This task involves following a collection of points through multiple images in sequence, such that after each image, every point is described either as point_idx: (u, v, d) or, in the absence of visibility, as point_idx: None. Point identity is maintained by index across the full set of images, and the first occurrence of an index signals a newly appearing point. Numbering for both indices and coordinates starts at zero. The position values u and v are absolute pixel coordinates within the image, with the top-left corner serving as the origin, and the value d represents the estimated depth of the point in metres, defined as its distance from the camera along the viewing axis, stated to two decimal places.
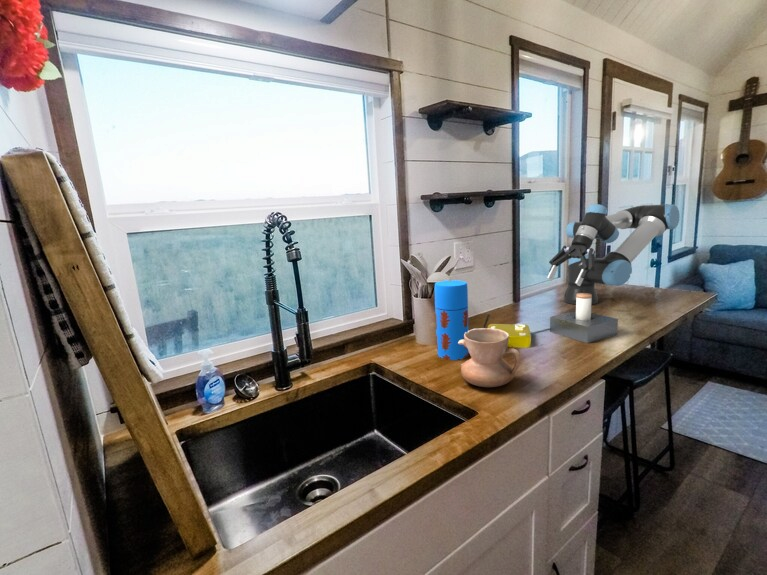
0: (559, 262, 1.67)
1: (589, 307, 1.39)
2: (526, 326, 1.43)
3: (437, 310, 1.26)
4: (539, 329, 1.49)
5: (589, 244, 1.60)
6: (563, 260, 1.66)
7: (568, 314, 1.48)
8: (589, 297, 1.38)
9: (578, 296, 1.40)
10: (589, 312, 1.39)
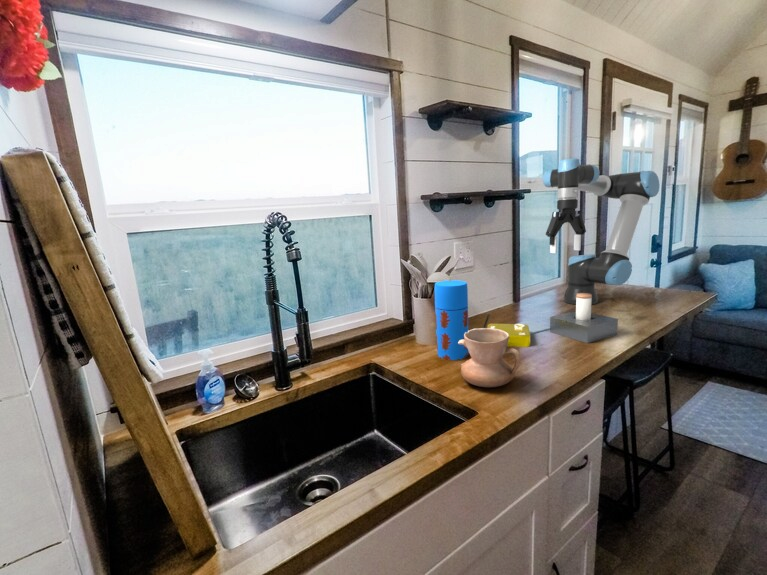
0: None
1: (589, 307, 1.39)
2: (525, 326, 1.43)
3: (437, 310, 1.26)
4: (539, 329, 1.49)
5: None
6: None
7: (568, 314, 1.48)
8: (589, 297, 1.38)
9: (578, 296, 1.40)
10: (589, 312, 1.39)
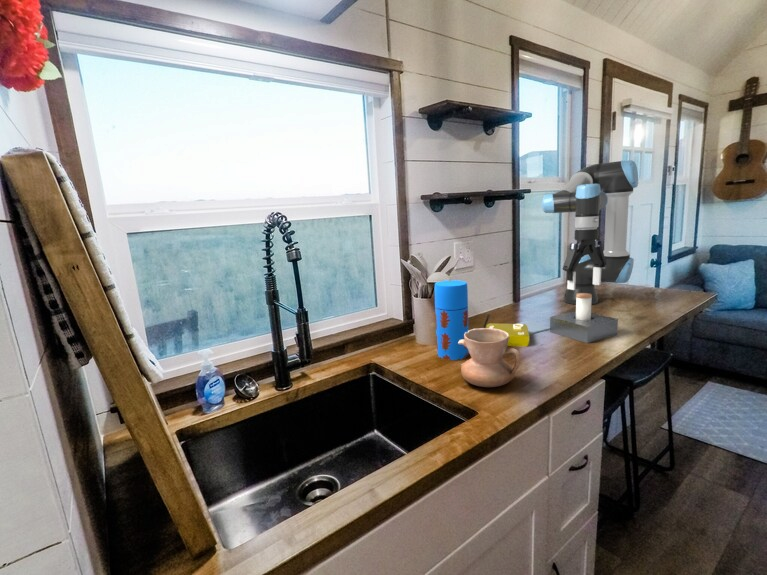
0: None
1: (589, 307, 1.39)
2: (524, 325, 1.44)
3: (437, 310, 1.26)
4: (539, 329, 1.49)
5: None
6: None
7: (568, 314, 1.48)
8: (589, 297, 1.38)
9: (578, 296, 1.40)
10: (589, 312, 1.39)
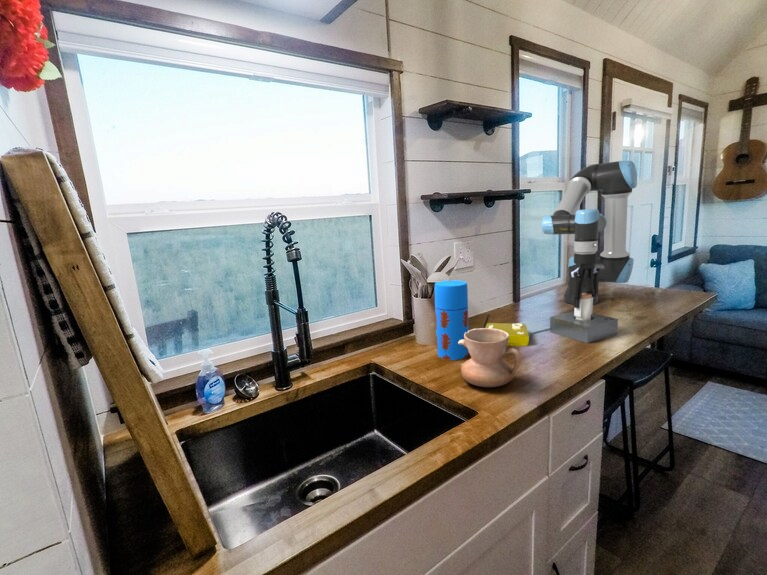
0: None
1: (589, 307, 1.39)
2: (523, 325, 1.45)
3: (437, 310, 1.26)
4: (539, 329, 1.49)
5: None
6: None
7: (568, 314, 1.48)
8: (589, 297, 1.38)
9: None
10: (589, 312, 1.39)
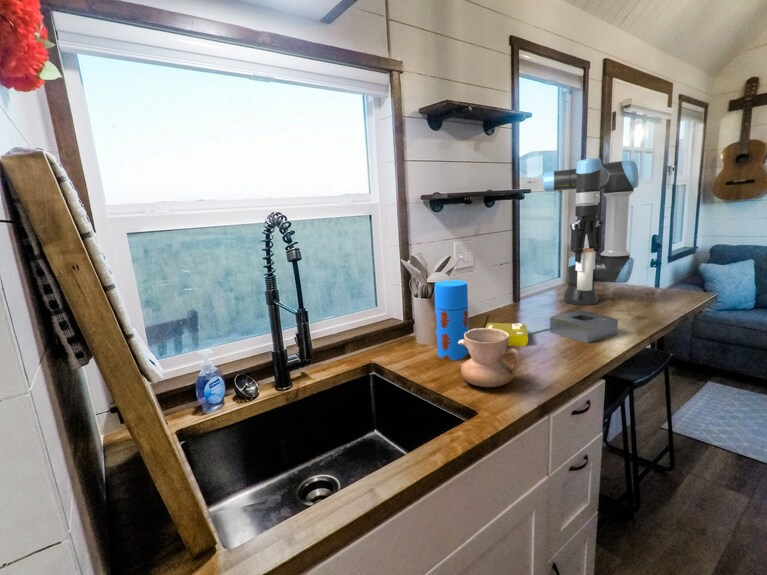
0: None
1: (591, 261, 1.36)
2: (523, 325, 1.44)
3: (437, 310, 1.26)
4: (539, 329, 1.49)
5: None
6: None
7: (568, 314, 1.48)
8: (591, 251, 1.35)
9: None
10: (591, 266, 1.36)
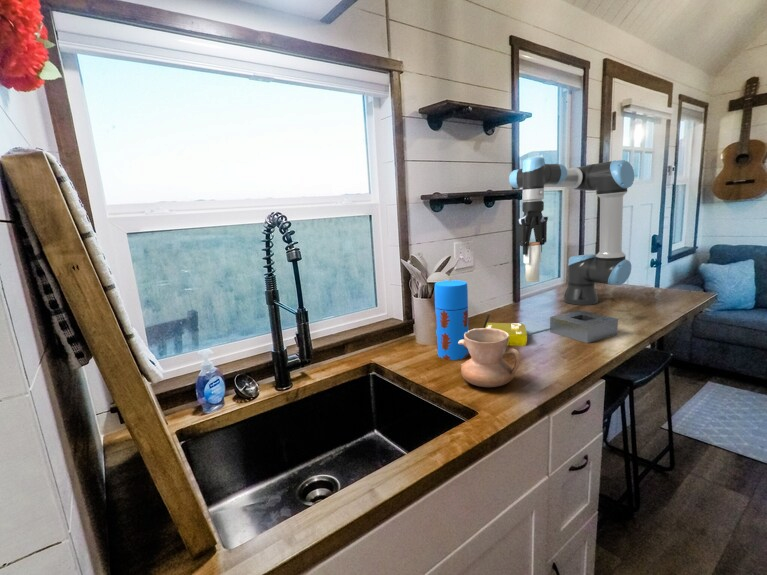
0: None
1: (537, 254, 1.44)
2: (522, 325, 1.45)
3: (437, 310, 1.26)
4: (539, 329, 1.49)
5: None
6: None
7: (568, 314, 1.48)
8: (537, 244, 1.43)
9: None
10: (537, 259, 1.45)
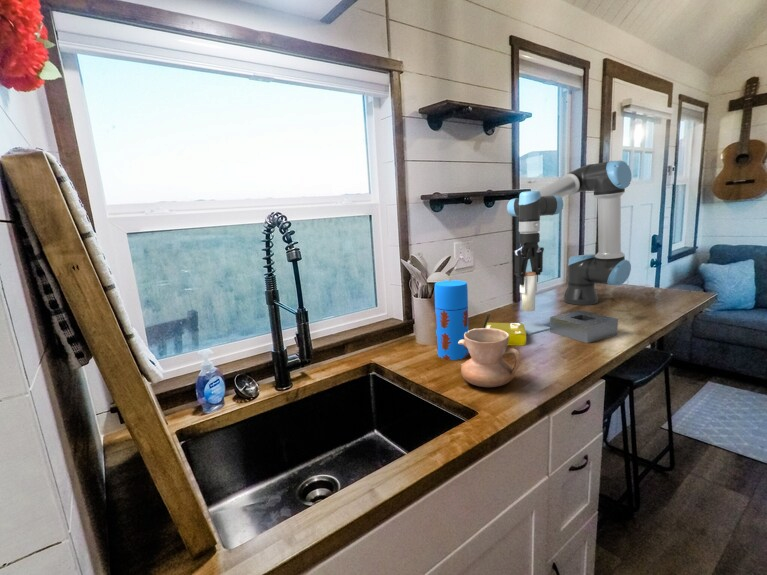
0: None
1: (533, 284, 1.47)
2: (521, 324, 1.45)
3: (437, 310, 1.26)
4: (539, 329, 1.49)
5: None
6: None
7: (568, 314, 1.48)
8: (533, 275, 1.46)
9: None
10: (533, 289, 1.48)
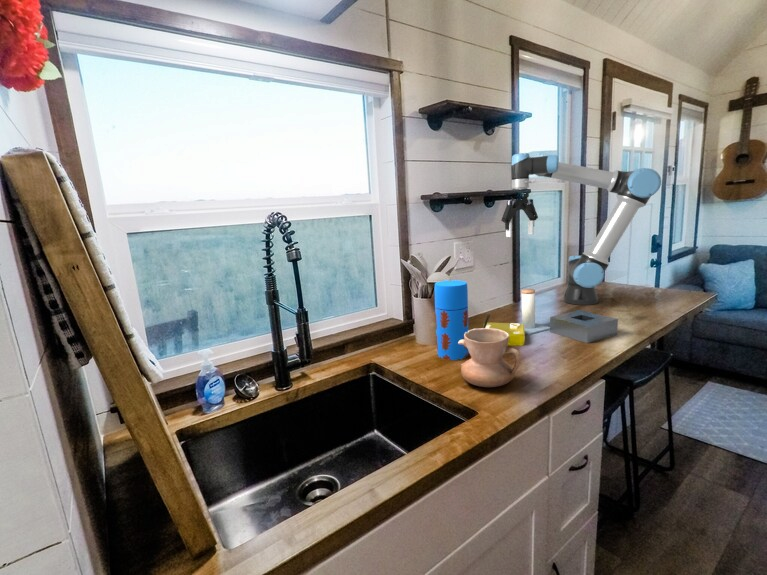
0: None
1: (533, 302, 1.49)
2: (521, 325, 1.45)
3: (437, 310, 1.26)
4: (539, 329, 1.49)
5: None
6: None
7: (568, 314, 1.48)
8: (532, 293, 1.48)
9: (522, 292, 1.49)
10: (533, 307, 1.49)
